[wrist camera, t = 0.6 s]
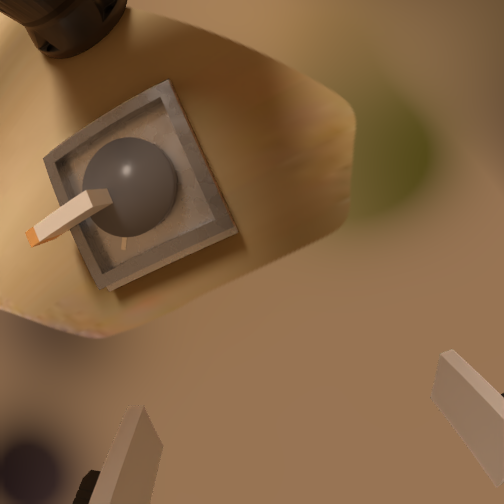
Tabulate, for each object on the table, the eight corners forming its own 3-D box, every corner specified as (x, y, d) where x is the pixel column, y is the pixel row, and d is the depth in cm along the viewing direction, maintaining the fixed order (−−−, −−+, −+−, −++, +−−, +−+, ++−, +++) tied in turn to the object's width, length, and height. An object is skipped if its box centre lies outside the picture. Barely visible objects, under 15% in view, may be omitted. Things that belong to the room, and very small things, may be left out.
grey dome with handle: (155, 123, 31) (133, 109, 24) (193, 208, 34) (180, 215, 26) (46, 191, 32) (11, 195, 25) (79, 267, 35) (49, 285, 27)
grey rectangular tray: (53, 152, 32) (40, 151, 29) (170, 81, 31) (164, 72, 28) (112, 289, 36) (102, 297, 33) (238, 231, 35) (238, 235, 32)
